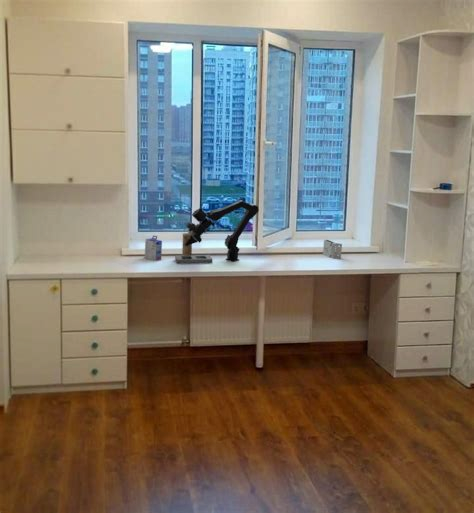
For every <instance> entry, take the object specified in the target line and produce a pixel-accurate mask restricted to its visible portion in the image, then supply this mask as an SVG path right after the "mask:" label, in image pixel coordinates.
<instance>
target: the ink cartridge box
mask: <svg viewBox="0 0 474 513" xmlns="http://www.w3.org/2000/svg"><path fill="white" fill-rule="evenodd" d="M144 243H145V244H144V258H145V259H147V260H151V261H155V262H156V261H161V260H162V254H163V253H162V247H163V241H162V240H160V239H158V235H152V237H151V238H145V242H144Z"/></svg>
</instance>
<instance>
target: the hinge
mask: <svg viewBox="0 0 474 513" xmlns="http://www.w3.org/2000/svg"><path fill="white" fill-rule="evenodd" d="M322 248H323V250H322V255H323V256H326V257H328V258H330V259H342V250H343V243H341V242H340V243H339V242H335V241H332V240H330V239H324V240H323V247H322Z"/></svg>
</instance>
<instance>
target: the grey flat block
mask: <svg viewBox="0 0 474 513" xmlns="http://www.w3.org/2000/svg"><path fill="white" fill-rule="evenodd" d="M174 260H175V262H176V263H177V264H213V257H212V256H211V255H209V254H206V255H204V254H203V255H201V254H200V255H199V254H197V255H196V254H195V255H192V256H183V255H175V258H174Z"/></svg>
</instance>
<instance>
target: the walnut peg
mask: <svg viewBox="0 0 474 513" xmlns="http://www.w3.org/2000/svg"><path fill="white" fill-rule="evenodd" d="M191 235H192V234H191V233H188V232H187V233H186V232H185V233H184V232H183V233H182V256H193V254H192V253H193V252H192V251H193V249H192V248H193V244H190V245H188V246H186V245H185V244H186V243H187V242H188V240H189V239H190V236H191Z"/></svg>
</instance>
